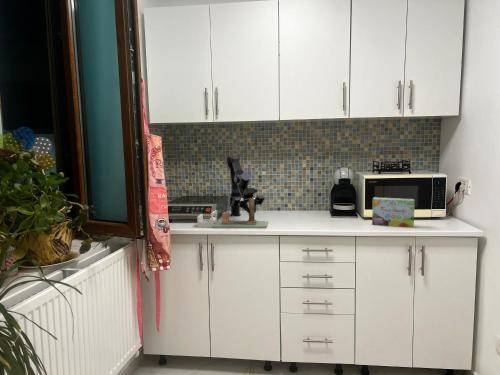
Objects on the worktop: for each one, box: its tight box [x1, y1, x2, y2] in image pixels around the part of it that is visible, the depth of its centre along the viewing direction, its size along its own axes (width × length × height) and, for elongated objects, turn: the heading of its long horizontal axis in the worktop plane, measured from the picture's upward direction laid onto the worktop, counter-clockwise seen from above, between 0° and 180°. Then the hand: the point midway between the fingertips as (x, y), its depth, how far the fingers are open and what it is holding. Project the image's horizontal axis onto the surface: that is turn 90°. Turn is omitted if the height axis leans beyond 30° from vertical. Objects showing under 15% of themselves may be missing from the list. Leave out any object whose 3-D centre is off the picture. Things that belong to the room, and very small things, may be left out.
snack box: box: [371, 196, 415, 228], centre depth 199 cm, size 21×6×15 cm, turn 66°
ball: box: [210, 217, 218, 225], centre depth 209 cm, size 4×4×4 cm
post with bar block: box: [221, 197, 258, 224], centre depth 207 cm, size 5×20×14 cm, turn 83°
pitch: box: [196, 209, 269, 229], centre depth 208 cm, size 14×39×8 cm, turn 83°
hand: (252, 212), depth 205 cm, fingers closed on post with bar block, 3 cm apart
